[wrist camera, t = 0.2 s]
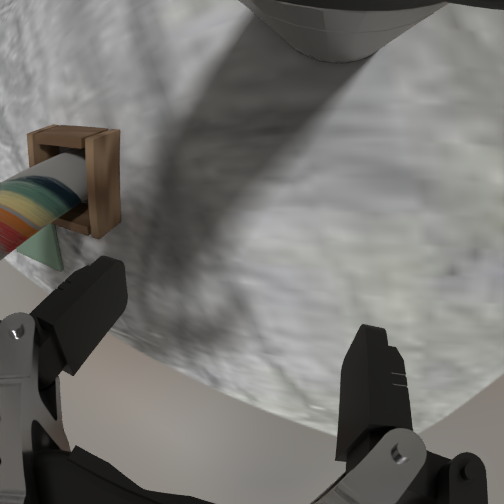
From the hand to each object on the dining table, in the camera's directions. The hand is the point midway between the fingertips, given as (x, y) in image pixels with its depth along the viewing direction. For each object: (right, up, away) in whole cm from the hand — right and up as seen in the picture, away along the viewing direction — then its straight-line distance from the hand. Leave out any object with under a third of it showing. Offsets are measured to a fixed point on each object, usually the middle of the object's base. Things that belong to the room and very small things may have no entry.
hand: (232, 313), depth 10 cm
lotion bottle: (-17, +11, +20) cm, 28 cm away
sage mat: (-30, +6, +26) cm, 41 cm away
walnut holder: (-17, +11, +20) cm, 28 cm away
